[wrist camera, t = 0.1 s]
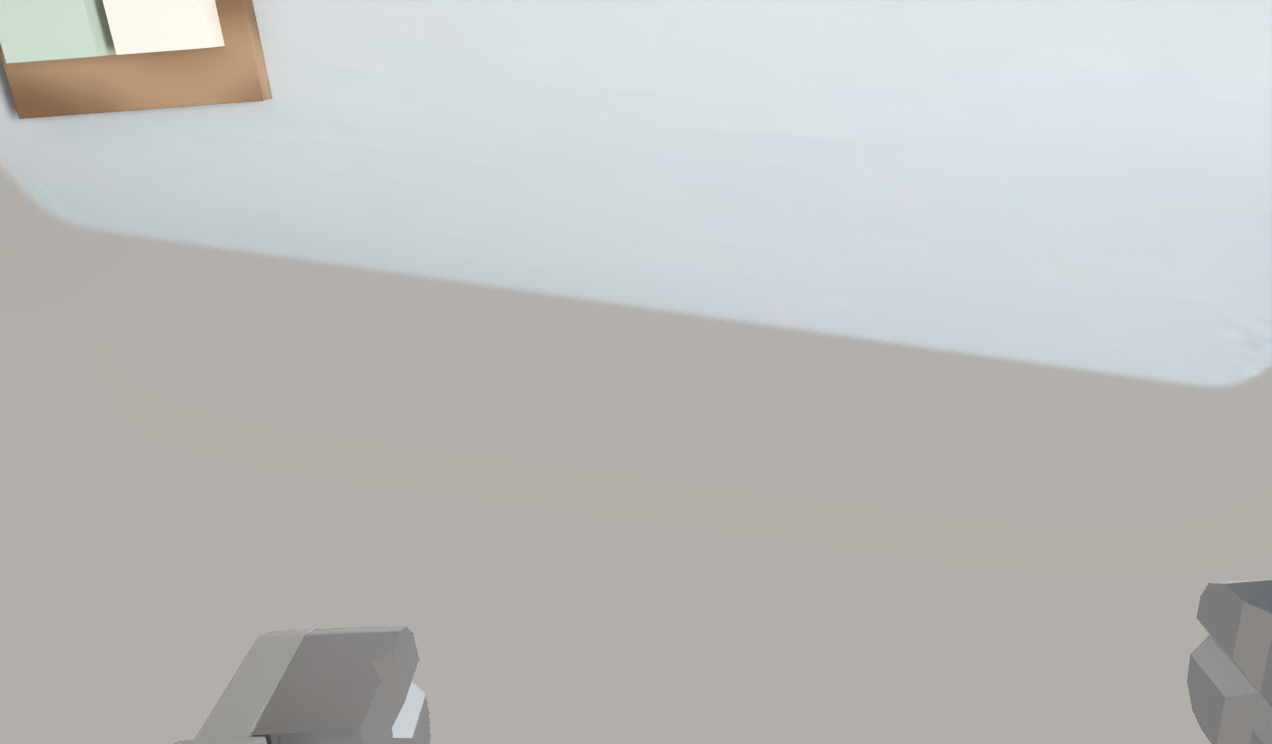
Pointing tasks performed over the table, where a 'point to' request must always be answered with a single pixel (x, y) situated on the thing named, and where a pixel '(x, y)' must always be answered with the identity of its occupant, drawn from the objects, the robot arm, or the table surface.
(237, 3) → the board
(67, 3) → the tile sage
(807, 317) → the table surface
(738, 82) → the table surface
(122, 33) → the tile cream
